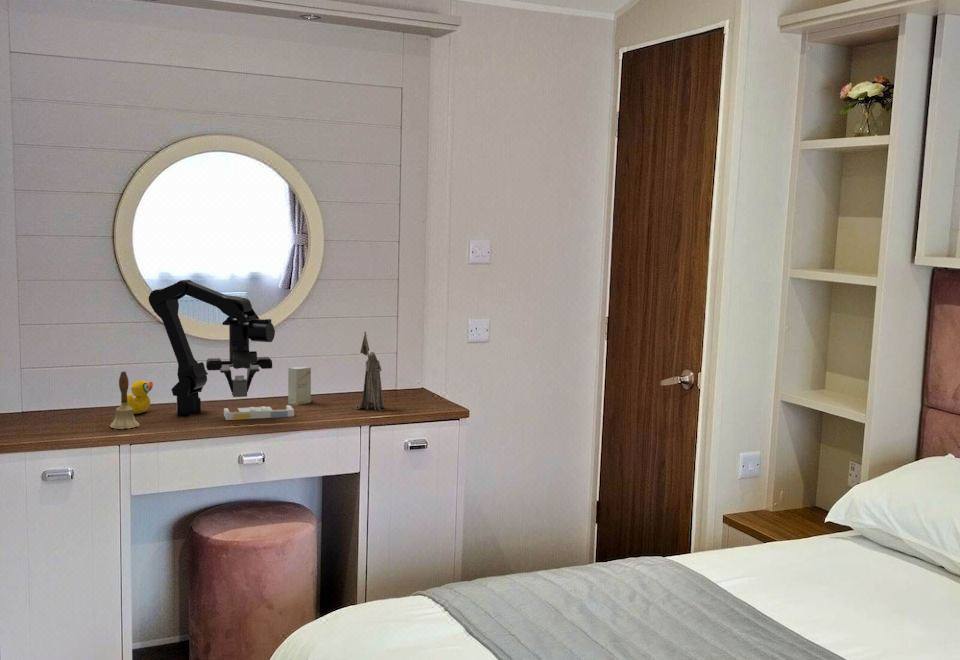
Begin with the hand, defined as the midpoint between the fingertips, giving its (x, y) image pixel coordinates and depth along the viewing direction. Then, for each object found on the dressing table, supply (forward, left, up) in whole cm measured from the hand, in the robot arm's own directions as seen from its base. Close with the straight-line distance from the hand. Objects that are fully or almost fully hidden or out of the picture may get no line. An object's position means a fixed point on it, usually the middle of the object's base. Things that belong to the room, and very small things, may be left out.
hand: (239, 392), depth 284 cm
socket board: (+6, -1, -8) cm, 10 cm away
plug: (0, 0, -1) cm, 1 cm away
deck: (+6, +8, -8) cm, 13 cm away
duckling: (-28, +15, -8) cm, 33 cm away
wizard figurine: (+41, +3, -8) cm, 41 cm away
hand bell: (-32, -3, -8) cm, 34 cm away
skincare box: (+21, +16, -8) cm, 27 cm away
